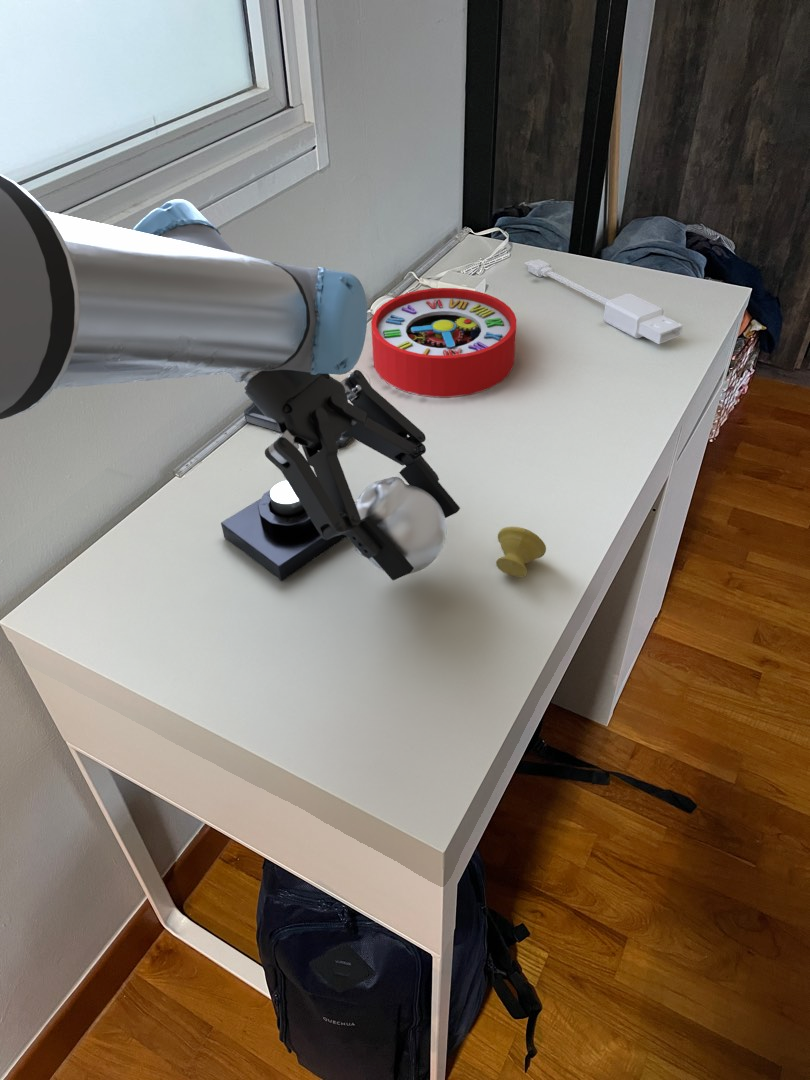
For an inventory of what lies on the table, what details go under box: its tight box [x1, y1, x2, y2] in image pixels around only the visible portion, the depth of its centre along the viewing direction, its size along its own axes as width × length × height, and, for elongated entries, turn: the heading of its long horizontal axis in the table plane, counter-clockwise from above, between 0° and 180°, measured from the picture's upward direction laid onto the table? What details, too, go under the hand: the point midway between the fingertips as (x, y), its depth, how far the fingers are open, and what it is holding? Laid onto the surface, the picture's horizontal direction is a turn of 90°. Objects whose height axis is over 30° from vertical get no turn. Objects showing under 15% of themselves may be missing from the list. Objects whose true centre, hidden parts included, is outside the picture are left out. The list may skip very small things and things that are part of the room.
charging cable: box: [523, 258, 684, 345], centre depth 126 cm, size 5×32×3 cm, turn 31°
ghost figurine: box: [353, 476, 448, 575], centre depth 80 cm, size 9×10×10 cm
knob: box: [495, 526, 547, 578], centre depth 83 cm, size 5×5×5 cm
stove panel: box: [220, 489, 348, 582], centre depth 89 cm, size 12×10×4 cm
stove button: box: [269, 480, 306, 518], centre depth 87 cm, size 4×4×2 cm
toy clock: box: [370, 287, 517, 398], centre depth 114 cm, size 20×6×20 cm
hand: (427, 543), depth 80 cm, fingers closed on ghost figurine, 9 cm apart
